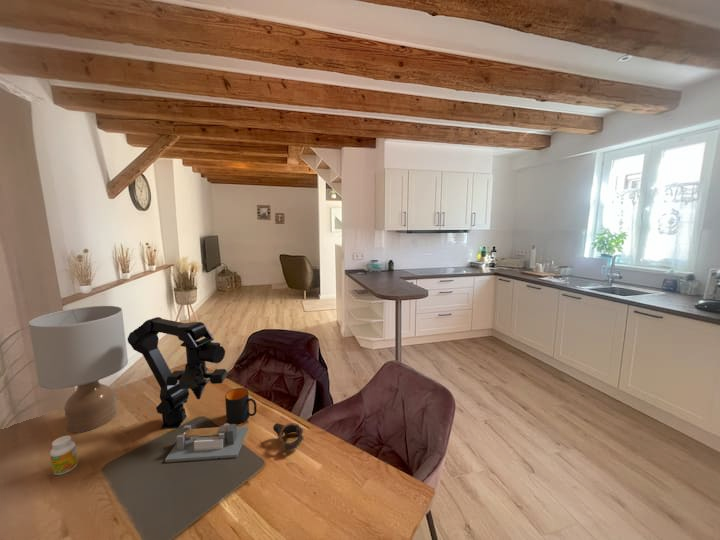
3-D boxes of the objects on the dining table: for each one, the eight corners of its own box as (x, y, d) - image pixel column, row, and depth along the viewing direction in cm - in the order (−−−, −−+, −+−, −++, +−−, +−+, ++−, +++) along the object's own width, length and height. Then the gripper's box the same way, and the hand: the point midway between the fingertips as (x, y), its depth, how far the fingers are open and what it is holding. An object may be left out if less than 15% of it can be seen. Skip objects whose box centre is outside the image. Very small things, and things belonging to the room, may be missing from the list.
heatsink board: (165, 462, 91) (163, 445, 90) (185, 433, 104) (183, 418, 103) (237, 457, 94) (236, 440, 93) (247, 429, 106) (247, 414, 106)
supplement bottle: (49, 478, 85) (44, 449, 83) (57, 465, 90) (53, 437, 88) (73, 471, 87) (69, 443, 86) (80, 458, 92) (76, 431, 91)
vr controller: (308, 435, 105) (308, 425, 100) (295, 462, 98) (294, 454, 93) (280, 421, 107) (278, 411, 102) (265, 447, 100) (262, 437, 95)
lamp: (53, 454, 93) (32, 332, 87) (43, 423, 108) (25, 316, 101) (141, 416, 112) (130, 313, 106) (123, 394, 127) (112, 302, 120)
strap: (180, 438, 96) (179, 434, 96) (184, 432, 99) (184, 428, 98) (225, 435, 97) (225, 431, 97) (228, 428, 100) (228, 425, 100)
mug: (251, 427, 108) (250, 402, 106) (222, 423, 109) (220, 398, 108) (262, 413, 116) (261, 389, 114) (234, 410, 117) (233, 386, 116)
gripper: (154, 370, 93) (158, 414, 95) (214, 368, 95) (217, 411, 97) (172, 355, 104) (176, 394, 106) (226, 353, 106) (228, 392, 108)
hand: (199, 398), depth 104 cm, fingers closed
